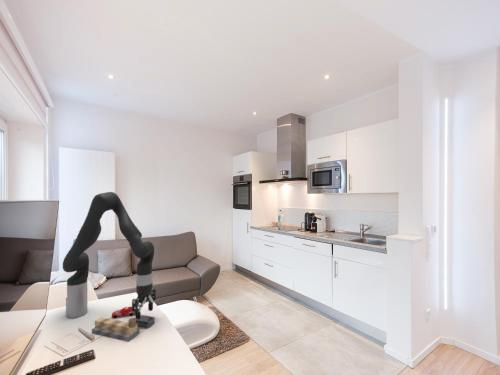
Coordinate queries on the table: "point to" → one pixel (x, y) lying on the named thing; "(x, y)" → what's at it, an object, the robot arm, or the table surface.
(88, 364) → the table surface
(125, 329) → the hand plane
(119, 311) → the race car
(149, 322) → the grey rectangular box
